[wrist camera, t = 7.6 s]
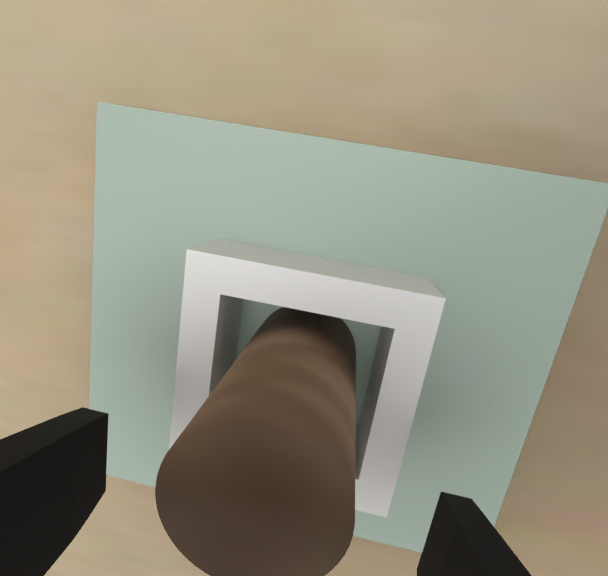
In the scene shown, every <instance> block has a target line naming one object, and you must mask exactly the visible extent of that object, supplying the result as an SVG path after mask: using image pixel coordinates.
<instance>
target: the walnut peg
mask: <svg viewBox="0 0 608 576" xmlns="http://www.w3.org/2000/svg"><path fill="white" fill-rule="evenodd" d="M355 424H356V347H355V342H354V338H353V336H352V333H351V331H350V329H349V328H348V326H347V325H346V324H345V322H344V321H343V320H342V319H341V318H338V317H332V316H327V315H322V314H317V313H312V312H307V311H302V310H297V309H292V308H287V307H281V308H280V309H278V310H276V311H275V312H273V313H272V314H271V315H270V316H269V317H268V318H267V319H266V320H265V321H264V322H263V324H262V325H261V326H260V328H259V329H258V330H257V332H256V333H255V335H254V336H253V337H252V339H251V340H250V341H249V343H248V344H247V345H246V347H245V348H244V349H243V351H242V352H241V353H240V355H239V356H238V357H237V359H236V360H235V362H234V363H233V364H232V366H231V367H230V368H229V370H228V371H227V372H226V374H225V375H224V376H223V378H222V379H221V380H220V382H219V383H218V384H217V386H216V387H215V389H214V390H213V391H212V393H211V394H210V395H209V397H208V398H207V399H206V401H205V402H204V403H203V405H202V406H201V407H200V409H199V410H198V411H197V413H196V414H195V416H194V417H193V418H192V420H191V421H190V422H189V424H188V425H187V426H186V428H185V429H184V430H183V432H182V433H181V434H180V436H179V437H178V438H177V440H176V441H175V443H174V444H173V445H172V447H171V448H170V449H169V451H168V452H167V453H166V455H165V457H164V459H163V461H162V463H161V465H160V468H159V471H158V474H157V479H156V489H155V497H156V504H157V509H158V513H159V517H160V519H161V522H162V524H163V526H164V529H165V531H166V532H167V534H168V536H169V537H170V539H171V540H172V542H173V543H174V544H175V546H176V547H177V548H178V550H179V551H180V552H181V553H182V554H183V555H184V556H185V557H186V558H187V559H188V560H189V561H191V562H192V563H193V564H194V565H195V566H197V567H198V568H199V569H201V570H202V571H204V572H205V573H207V574H209V575H210V576H324V575H326V574H327V573H329V572H330V571H331V570H332V569H333V568H334V567H335V566H336V565H337V564H338V563H339V562H340V560H341V559H342V558H343V556H344V555H345V553H346V551H347V549H348V547H349V545H350V543H351V540H352V537H353V532H354V526H355Z"/></svg>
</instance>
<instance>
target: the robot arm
mask: <svg viewBox="0 0 608 576" xmlns="http://www.w3.org/2000/svg"><path fill="white" fill-rule="evenodd" d="M108 415H109V414H108V413H104V412H100V411H96V410H91V409H87V408H80V409H77V410H74V411H71V412H68V413H66V414H63V415H60V416H58V417H55V418H53V419H50V420H48V421H45V422H43V423H40V424H38V425H35V426H33V427H30V428H28V429H25V430H23V431H20V432H18V433H15V434H13V435H11V436H8V437H6V438H3V439H1V440H0V576H44V575H45V574H46V572H47V571H48V570H49V569H50V567H51V566H52V565H53V564H54V563H55V561H56V560H57V559H58V558H59V556H60V555H61V554H62V553H63V552H64V550H65V549H66V548H67V547H68V545H69V544H70V543H71V542H72V540H73V539H74V538H75V536H76V535H77V533H78V532H79V530H80V529H81V527H82V526H83V525H84V523H85V522H86V520H87V519H88V517H89V516H90V514H91V513H92V511H93V509H94V508H95V506H96V505H97V503H98V502H99V500H100V499H101V497H102V495H103V494H104V492H105V489H106V464H107V440H108ZM417 576H531V575H530V573H529V572H528V571H527V569H526V568H525V567H524V566H523V564H522V563H521V562H520V560H519V559H518V558H517V556H516V555H515V554H514V553H513V551H512V550H511V549H510V547H509V546H508V545H507V543H506V542H505V541H504V540H503V538H502V537H501V536H500V534H499V533H498V532H497V530H496V529H495V528H494V526H493V525H492V524H491V523H490V521H489V520H488V519H487V517H486V516H485V515H484V513H483V512H482V511H481V510H480V508H479V507H478V506H477V505H476V503H475V502H474V501H473V500H472V499H471V498H467V497H462V496H458V495H454V494H450V493H445V492H441V493H440V496H439V499H438V503H437V506H436V509H435V512H434V516H433V519H432V522H431V525H430V529H429V532H428V535H427V538H426V542H425V545H424V548H423V551H422V555H421V558H420V561H419V564H418V568H417Z"/></svg>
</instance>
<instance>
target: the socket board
mask: <svg viewBox="0 0 608 576" xmlns="http://www.w3.org/2000/svg"><path fill="white" fill-rule="evenodd" d="M607 210H608V183H603V182H597V181H591V180H585V179H578V178H572V177H566V176H560V175H553V174H547V173H541V172H535V171H528V170H522V169H516V168H510V167H503V166H497V165H491V164H485V163H478V162H472V161H466V160H460V159H453V158H447V157H441V156H434V155H428V154H422V153H416V152H409V151H403V150H397V149H391V148H384V147H378V146H372V145H366V144H359V143H353V142H347V141H341V140H334V139H328V138H322V137H316V136H309V135H303V134H297V133H291V132H284V131H278V130H272V129H266V128H259V127H253V126H247V125H240V124H234V123H228V122H222V121H215V120H209V119H203V118H197V117H190V116H184V115H178V114H172V113H165V112H159V111H153V110H147V109H140V108H134V107H128V106H122V105H115V104H109V103H103V102H97V125H96V162H95V199H94V236H93V273H92V309H91V346H90V383H89V409H91V410H96V411H100V412H104V413H108V414H109V415H108V440H107V464H106V475H107V476H112V477H116V478H120V479H124V480H128V481H132V482H136V483H140V484H144V485H148V486H152V487H156V479H157V474H158V471H159V468H160V465H161V463H162V461H163V459H164V457H165V455H166V453H167V452H168V451H169V449H170V448H171V447H172V445H173V444H174V443H175V441H176V440H177V438H178V437H179V436H180V434H181V433H182V432H183V430H184V429H185V428H186V426H187V425H188V424H189V422H190V421H191V420H192V418H193V417H194V416H195V414H196V413H197V411H198V410H199V409H200V407H201V406H202V405H203V403H204V402H205V401H206V399H207V398H208V397H209V395H210V394H211V393H212V391H213V390H214V389H215V387H216V386H217V384H218V383H219V382H220V380H221V379H222V378H223V376H224V375H225V374H226V372H227V371H228V370H229V368H230V367H231V366H232V364H233V363H234V362H235V360H236V359H237V357H238V356H239V355H240V353H241V352H242V351H243V349H244V348H245V347H246V345H247V344H248V343H249V341H250V340H251V339H252V337H253V336H254V335H255V333H256V332H257V330H258V329H259V328H260V326H261V325H262V324H263V322H264V321H265V320H266V319H267V318H268V317H269V316H270V315H271V314H272V313H273V312H275V311H276V310H278V309H280V308H281V307H287V308H292V309H297V310H302V311H307V312H312V313H317V314H322V315H327V316H332V317H338V318H341V319H342V320H343V321H344V322H345V324H346V325H347V326H348V328H349V329H350V331H351V333H352V336H353V338H354V342H355V347H356V424H355V526H354V532H353V536H355V537H360V538H364V539H368V540H372V541H376V542H380V543H384V544H388V545H392V546H396V547H400V548H404V549H408V550H412V551H416V552H421V553H422V551H423V548H424V545H425V542H426V538H427V535H428V532H429V529H430V525H431V522H432V519H433V516H434V512H435V509H436V506H437V503H438V499H439V496H440V493H441V492H445V493H450V494H454V495H458V496H462V497H467V498H471V499H472V500H473V501H474V502H475V503H476V505H477V506H478V507H479V508H480V510H481V511H482V512H483V513H484V515H485V516H486V517H487V519H488V520H489V521H490V523H491V524H492V525H493V526H495V523H496V520H497V517H498V514H499V512H500V509H501V506H502V503H503V500H504V498H505V495H506V492H507V489H508V486H509V484H510V481H511V478H512V475H513V472H514V470H515V467H516V464H517V461H518V459H519V456H520V453H521V450H522V447H523V445H524V442H525V439H526V436H527V433H528V431H529V428H530V425H531V422H532V419H533V417H534V414H535V411H536V408H537V405H538V403H539V400H540V397H541V394H542V391H543V389H544V386H545V383H546V380H547V378H548V375H549V372H550V369H551V366H552V364H553V361H554V358H555V355H556V352H557V350H558V347H559V344H560V341H561V338H562V336H563V333H564V330H565V327H566V324H567V322H568V319H569V316H570V313H571V310H572V308H573V305H574V302H575V299H576V296H577V294H578V291H579V288H580V285H581V283H582V280H583V277H584V274H585V271H586V269H587V266H588V263H589V260H590V257H591V255H592V252H593V249H594V246H595V243H596V241H597V238H598V235H599V232H600V229H601V227H602V224H603V221H604V218H605V215H606V213H607Z"/></svg>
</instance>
